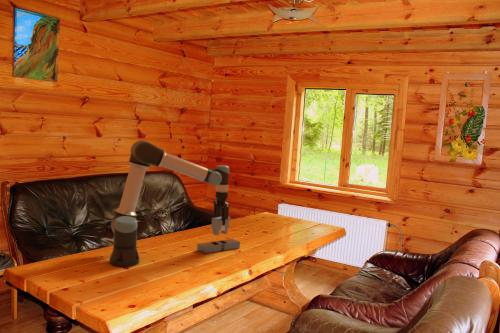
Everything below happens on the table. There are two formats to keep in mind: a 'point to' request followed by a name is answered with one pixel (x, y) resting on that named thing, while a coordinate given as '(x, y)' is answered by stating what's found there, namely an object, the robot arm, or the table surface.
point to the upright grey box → (216, 225)
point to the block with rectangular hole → (218, 246)
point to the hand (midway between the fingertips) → (220, 229)
